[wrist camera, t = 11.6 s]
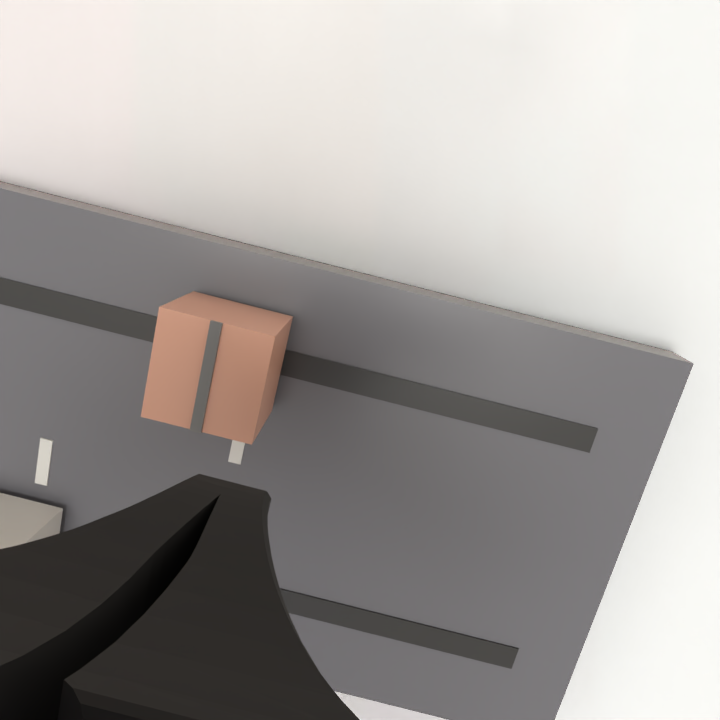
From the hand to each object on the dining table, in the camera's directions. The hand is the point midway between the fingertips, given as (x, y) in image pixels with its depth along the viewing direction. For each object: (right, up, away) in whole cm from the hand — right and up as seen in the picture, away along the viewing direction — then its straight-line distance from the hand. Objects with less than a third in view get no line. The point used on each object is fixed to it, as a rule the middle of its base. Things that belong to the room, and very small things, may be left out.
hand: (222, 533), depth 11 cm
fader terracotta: (-1, +3, +8) cm, 9 cm away
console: (-2, 0, +11) cm, 11 cm away
